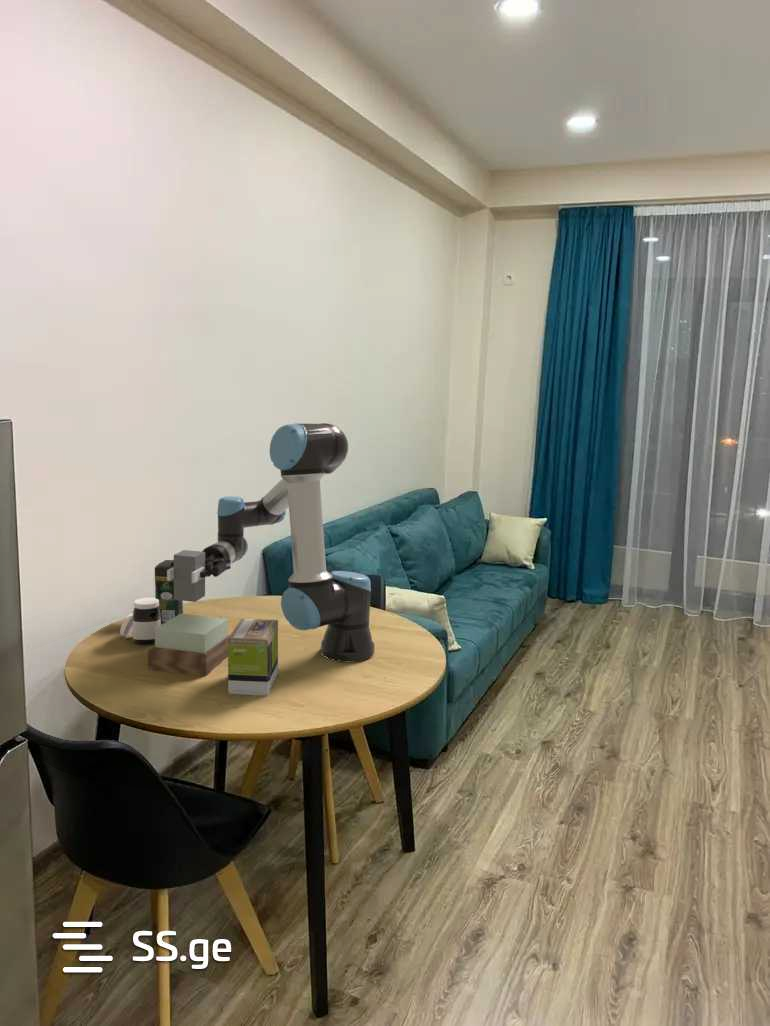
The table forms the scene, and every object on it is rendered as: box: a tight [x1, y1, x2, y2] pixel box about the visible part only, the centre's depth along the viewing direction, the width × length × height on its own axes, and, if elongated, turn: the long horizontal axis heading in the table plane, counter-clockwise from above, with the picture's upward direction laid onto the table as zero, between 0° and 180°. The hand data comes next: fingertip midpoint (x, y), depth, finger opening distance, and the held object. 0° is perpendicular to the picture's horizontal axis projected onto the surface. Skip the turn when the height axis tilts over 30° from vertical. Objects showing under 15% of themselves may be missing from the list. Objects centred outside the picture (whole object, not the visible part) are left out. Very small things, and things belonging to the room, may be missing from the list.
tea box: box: [227, 618, 279, 696], centre depth 189 cm, size 15×10×15 cm
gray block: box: [173, 549, 206, 603], centre depth 199 cm, size 6×6×12 cm
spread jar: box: [119, 597, 162, 645], centre depth 217 cm, size 12×11×12 cm
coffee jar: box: [154, 559, 184, 624], centre depth 235 cm, size 10×8×19 cm
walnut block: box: [147, 634, 231, 677], centre depth 202 cm, size 16×16×6 cm
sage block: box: [154, 613, 229, 653], centre depth 202 cm, size 14×14×5 cm
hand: (180, 576), depth 193 cm, fingers closed on gray block, 6 cm apart
